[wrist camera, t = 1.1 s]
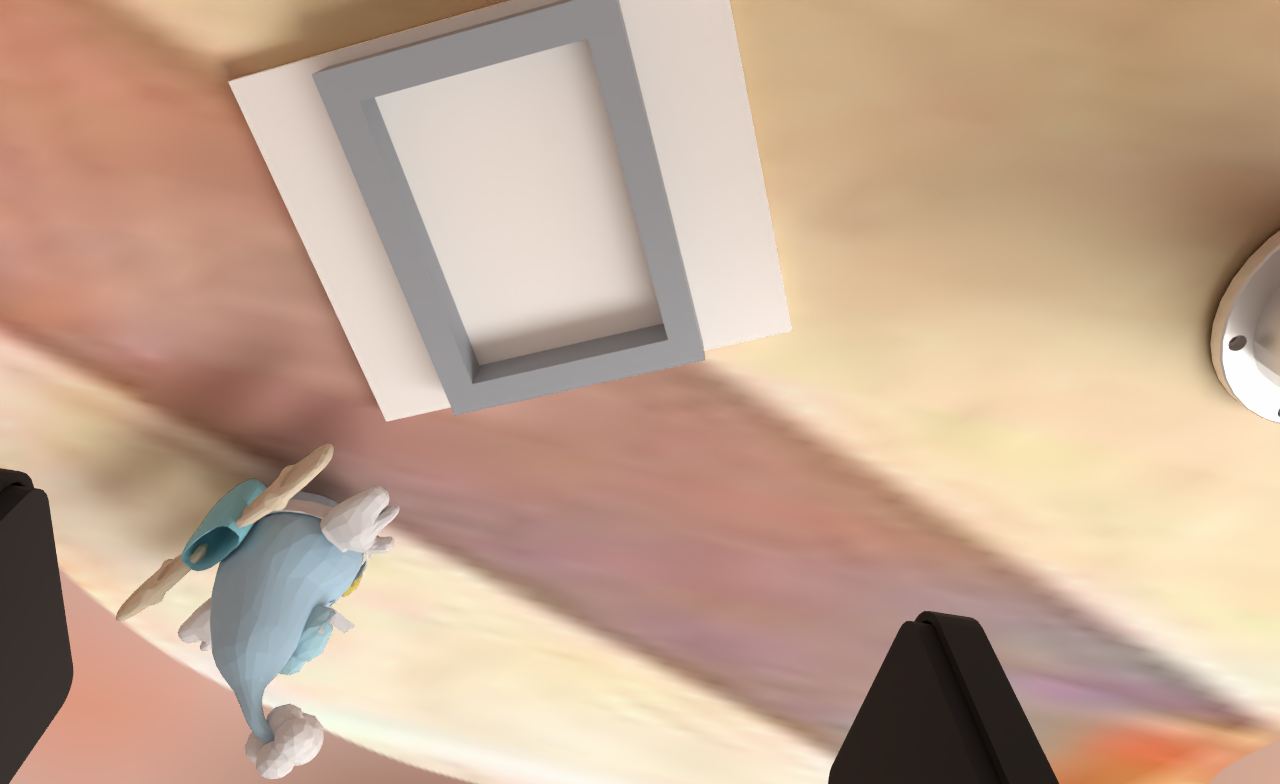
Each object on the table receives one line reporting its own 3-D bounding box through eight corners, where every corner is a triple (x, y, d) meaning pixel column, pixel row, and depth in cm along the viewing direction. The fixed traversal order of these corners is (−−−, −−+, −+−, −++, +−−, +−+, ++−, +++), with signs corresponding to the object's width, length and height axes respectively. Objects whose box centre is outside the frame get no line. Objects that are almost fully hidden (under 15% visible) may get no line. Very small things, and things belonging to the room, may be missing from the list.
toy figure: (295, 636, 56) (186, 859, 43) (159, 534, 52) (-6, 746, 39) (484, 507, 51) (425, 717, 38) (349, 383, 47) (232, 569, 34)
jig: (717, -60, 36) (722, -57, 34) (789, 322, 45) (798, 348, 42) (237, 77, 39) (207, 90, 36) (391, 412, 48) (376, 441, 45)
